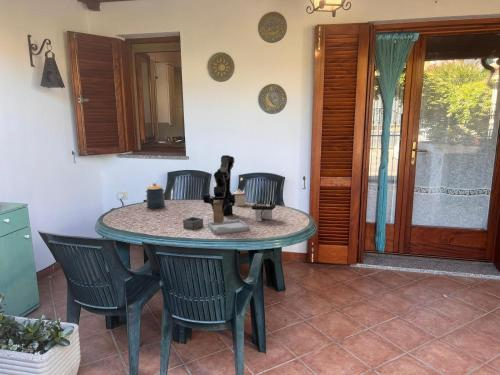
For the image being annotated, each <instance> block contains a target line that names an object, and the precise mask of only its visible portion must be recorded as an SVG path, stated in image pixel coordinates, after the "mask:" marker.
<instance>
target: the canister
mask: <svg viewBox="0 0 500 375" xmlns="http://www.w3.org/2000/svg"><path fill="white" fill-rule="evenodd" d="M163 188H164V187H163V186H162V185H159V184H157V183H156V182H154V183H153V182H152V185H148V186H147V187H146V191H145V192H146V195H145V198H146V208H148V209H160V208H163V207H165V206H166V202H165V194H164V192H165V190H164V189H163Z"/></svg>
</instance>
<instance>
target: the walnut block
mask: <svg viewBox="0 0 500 375" xmlns="http://www.w3.org/2000/svg"><path fill="white" fill-rule="evenodd" d="M222 208H223V201H220V200H214V202H213V209H212V212H213V217H212V218H213V222H214V223H223V221H225V220H224V219H225V218H224V214H223V212H222Z"/></svg>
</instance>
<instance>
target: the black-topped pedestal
mask: <svg viewBox="0 0 500 375" xmlns="http://www.w3.org/2000/svg"><path fill="white" fill-rule="evenodd" d="M276 207H277V206H276V203H273V199H271V200H269V202H266V201H265V200H261V201H260V200H256V202H255V203H254V204H253V205H251V210H255V212H254V214H255V215H254V216H255V222H263V219H264V220H273V210H275V209H276Z"/></svg>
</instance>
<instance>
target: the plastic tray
mask: <svg viewBox="0 0 500 375" xmlns="http://www.w3.org/2000/svg"><path fill="white" fill-rule="evenodd" d="M207 228H209V230H210V231H211V232H212V233H213V234H214V235H217V236H218V235H225V234H234V233H241V232H249V231H250V226H249V225H248V224H246V223H245V222H244V221H243V220H241V219H240V218H239V219H229V220H224V221H223V223H214V221H210V222H207Z"/></svg>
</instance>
